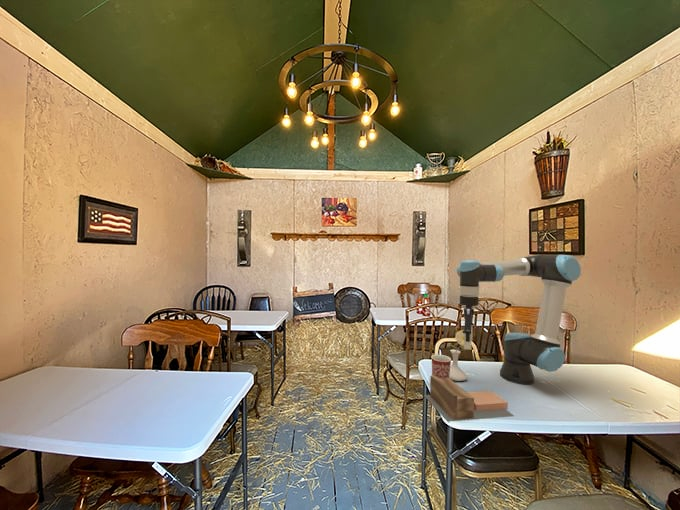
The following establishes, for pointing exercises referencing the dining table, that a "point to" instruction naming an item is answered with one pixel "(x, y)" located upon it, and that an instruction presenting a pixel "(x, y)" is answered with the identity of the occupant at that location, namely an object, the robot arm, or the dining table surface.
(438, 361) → the mug
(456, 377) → the flower in vase
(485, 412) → the mat
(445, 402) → the grooved wooden block
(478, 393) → the tile
